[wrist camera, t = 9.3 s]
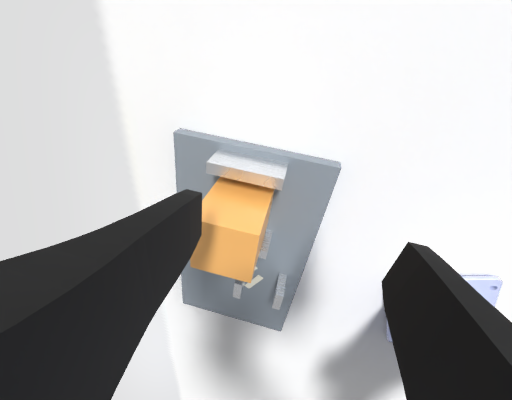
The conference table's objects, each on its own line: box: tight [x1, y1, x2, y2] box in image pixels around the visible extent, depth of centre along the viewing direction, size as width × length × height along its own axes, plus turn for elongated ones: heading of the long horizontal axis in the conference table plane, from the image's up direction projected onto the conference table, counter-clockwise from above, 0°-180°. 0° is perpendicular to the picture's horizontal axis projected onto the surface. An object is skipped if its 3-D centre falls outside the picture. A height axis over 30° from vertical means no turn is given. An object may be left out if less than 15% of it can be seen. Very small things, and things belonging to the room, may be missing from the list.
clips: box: [233, 273, 287, 310], centre depth 22 cm, size 6×9×2 cm, turn 82°
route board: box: [174, 128, 341, 331], centre depth 23 cm, size 21×12×1 cm, turn 172°
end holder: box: [206, 148, 288, 259], centre depth 18 cm, size 7×5×2 cm
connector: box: [190, 177, 275, 283], centre depth 17 cm, size 4×4×6 cm
